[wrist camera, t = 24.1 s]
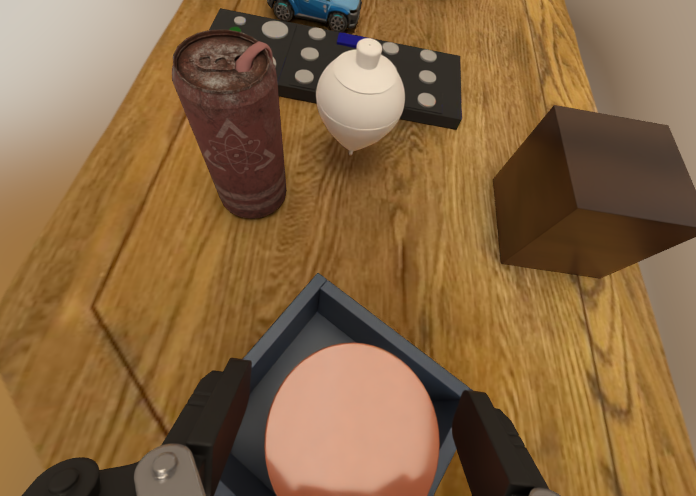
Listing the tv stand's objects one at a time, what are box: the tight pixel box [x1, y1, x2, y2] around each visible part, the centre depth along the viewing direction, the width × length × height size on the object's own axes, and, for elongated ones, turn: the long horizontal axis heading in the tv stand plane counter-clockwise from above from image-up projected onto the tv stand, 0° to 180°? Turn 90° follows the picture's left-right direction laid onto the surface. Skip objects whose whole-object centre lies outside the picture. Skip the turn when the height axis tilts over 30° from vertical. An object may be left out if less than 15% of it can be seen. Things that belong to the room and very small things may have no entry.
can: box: [172, 29, 287, 219], centre depth 26 cm, size 6×6×14 cm
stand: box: [493, 105, 696, 278], centre depth 30 cm, size 10×10×10 cm
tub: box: [214, 273, 473, 496], centre depth 22 cm, size 13×13×7 cm
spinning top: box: [316, 38, 405, 155], centre depth 30 cm, size 8×8×12 cm
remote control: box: [209, 8, 462, 129], centre depth 40 cm, size 11×30×2 cm, turn 82°
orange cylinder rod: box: [264, 342, 440, 496], centre depth 18 cm, size 6×6×14 cm
